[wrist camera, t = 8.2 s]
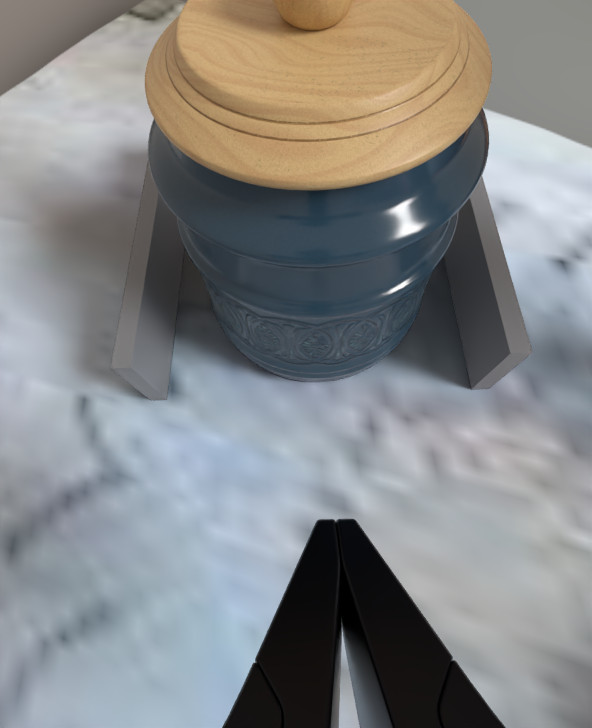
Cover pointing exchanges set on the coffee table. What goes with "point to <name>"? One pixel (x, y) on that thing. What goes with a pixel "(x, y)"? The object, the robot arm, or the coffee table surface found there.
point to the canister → (317, 165)
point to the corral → (462, 260)
